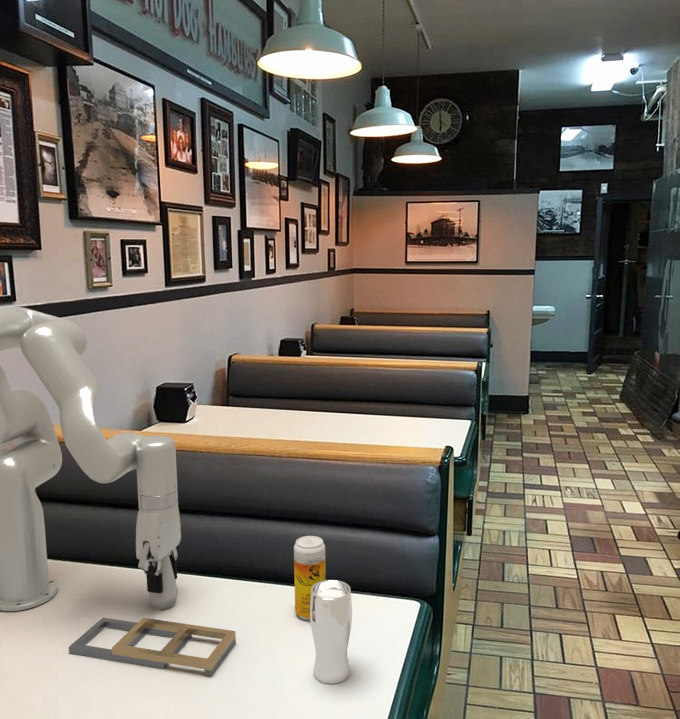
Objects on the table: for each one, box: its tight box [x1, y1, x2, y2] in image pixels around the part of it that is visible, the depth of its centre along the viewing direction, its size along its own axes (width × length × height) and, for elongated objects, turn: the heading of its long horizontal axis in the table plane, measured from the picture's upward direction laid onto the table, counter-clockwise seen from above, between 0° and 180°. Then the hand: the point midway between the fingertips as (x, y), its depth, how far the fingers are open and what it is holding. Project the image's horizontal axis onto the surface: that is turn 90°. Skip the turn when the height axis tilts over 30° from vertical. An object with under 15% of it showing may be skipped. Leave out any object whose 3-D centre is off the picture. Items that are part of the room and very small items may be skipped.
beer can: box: [293, 535, 327, 621], centre depth 126 cm, size 6×6×15 cm
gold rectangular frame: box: [111, 617, 237, 678], centre depth 114 cm, size 19×10×2 cm, turn 75°
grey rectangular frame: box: [68, 617, 193, 670], centre depth 117 cm, size 19×10×1 cm, turn 75°
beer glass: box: [309, 579, 353, 685], centre depth 107 cm, size 7×7×15 cm
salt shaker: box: [147, 550, 179, 611], centre depth 130 cm, size 6×6×13 cm
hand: (162, 584), depth 130 cm, fingers open, 4 cm apart
